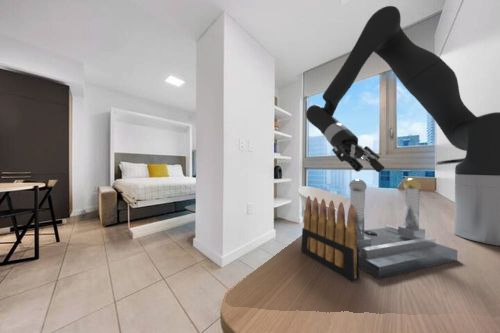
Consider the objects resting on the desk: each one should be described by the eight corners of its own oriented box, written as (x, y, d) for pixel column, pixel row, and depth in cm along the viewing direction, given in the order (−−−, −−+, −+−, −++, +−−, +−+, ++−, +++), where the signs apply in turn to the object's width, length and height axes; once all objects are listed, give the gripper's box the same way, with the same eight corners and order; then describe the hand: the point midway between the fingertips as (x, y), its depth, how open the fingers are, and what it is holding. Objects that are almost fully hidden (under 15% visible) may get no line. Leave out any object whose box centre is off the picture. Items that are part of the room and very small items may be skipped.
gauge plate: (386, 234, 46) (387, 223, 46) (457, 260, 33) (457, 244, 33) (321, 243, 39) (321, 230, 39) (378, 279, 27) (379, 259, 27)
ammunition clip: (300, 251, 35) (302, 195, 35) (306, 249, 36) (308, 194, 36) (353, 282, 26) (354, 206, 26) (359, 279, 27) (361, 205, 27)
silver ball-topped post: (341, 234, 40) (343, 177, 40) (370, 248, 33) (372, 179, 33) (328, 236, 38) (329, 177, 38) (355, 251, 32) (357, 179, 32)
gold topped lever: (391, 227, 45) (392, 176, 45) (424, 238, 38) (425, 178, 38) (380, 228, 43) (381, 176, 44) (413, 239, 37) (414, 178, 37)
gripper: (329, 126, 55) (361, 159, 44) (362, 130, 59) (398, 161, 48) (318, 144, 60) (344, 178, 49) (348, 147, 64) (379, 178, 53)
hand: (371, 170), depth 48 cm, fingers open, 8 cm apart
